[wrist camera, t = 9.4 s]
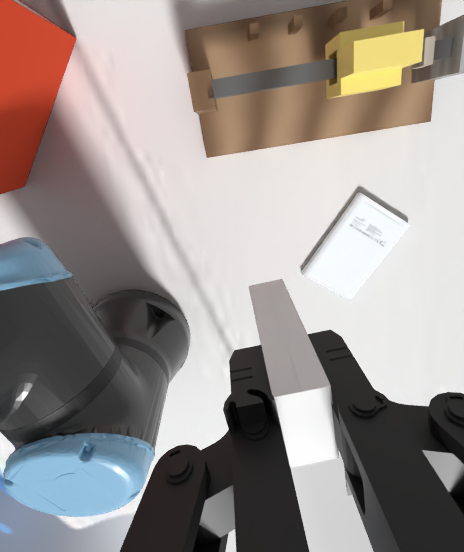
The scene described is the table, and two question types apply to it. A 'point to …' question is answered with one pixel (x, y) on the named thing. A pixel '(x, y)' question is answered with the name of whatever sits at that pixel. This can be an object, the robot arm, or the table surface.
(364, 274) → the external hard drive
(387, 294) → the table surface
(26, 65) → the file binder
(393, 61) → the sleeve
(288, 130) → the comb stand
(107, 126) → the table surface
